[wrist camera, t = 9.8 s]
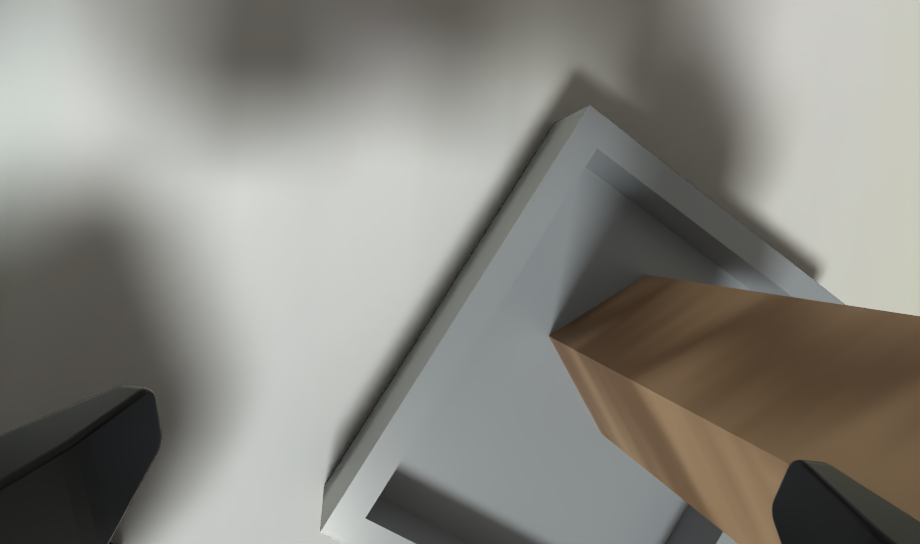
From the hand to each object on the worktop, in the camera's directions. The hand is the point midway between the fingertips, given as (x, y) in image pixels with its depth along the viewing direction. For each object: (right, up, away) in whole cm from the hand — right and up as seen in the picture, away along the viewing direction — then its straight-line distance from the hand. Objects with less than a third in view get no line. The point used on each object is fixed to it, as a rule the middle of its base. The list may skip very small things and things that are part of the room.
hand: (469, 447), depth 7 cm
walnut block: (+6, -1, +13) cm, 14 cm away
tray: (+5, -2, +14) cm, 15 cm away
